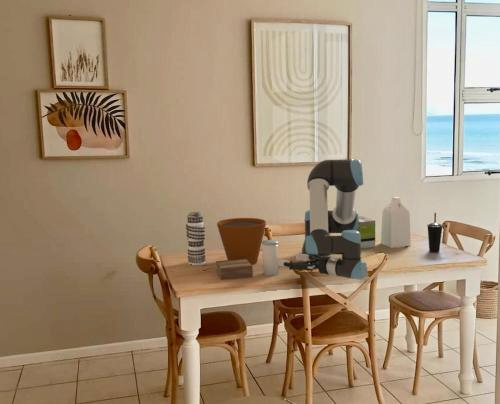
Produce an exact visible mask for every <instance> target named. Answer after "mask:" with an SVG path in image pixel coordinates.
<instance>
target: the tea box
mask: <svg viewBox="0 0 500 404" xmlns="http://www.w3.org/2000/svg"><path fill="white" fill-rule="evenodd" d="M358 216H359V215H358ZM357 231H358V232H359V233H360V237H361V249H368V248H370V249H371V248H376V220H374V219H371V218H369V217H366V216H359V221H358V228H357Z"/></svg>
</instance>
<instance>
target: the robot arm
mask: <svg viewBox="0 0 500 404" xmlns="http://www.w3.org/2000/svg"><path fill="white" fill-rule="evenodd" d="M306 181H307V182H306V183H307V185H306V187H307V190H308V191H309V209H308V210H306V211H305V212H304V241H303V244H302V248H301V252H300V253H298V252H296V253H295V259H296V260H297V261H292V260H287V259H279V258H278V267H283V268H288V269H289V271H290V270H291V271H292V270H295V271H296V270H297V271H313V270H318V272H319V273H320V274H322V275H327V276H328V275H330V276H335V278H337V277H342V278H346V279H351V280H363V279H365V278H366V276H367V273H368V266H367V265H368V264H367V262H366V261H363V260H362V256H361V253H362V252H361V249H362V248H361V237H360V233H359V232H358V231H357V228H358V221H359V212H358V210H356V209H354V207H355V200H356V199H355V197H356V191H357V190H358V188H359V187H360V186H363V185H364V175H363V164H362V160H360V159H354V158H349V159H347V158H346V159H325V160H322V161H320V162H318V163H317V164H316V165H315V166H314V167H313V168H312V169H311V171H310V172H309V174H308V176H307V180H306ZM330 186H331V187H334V188H336V199H335V200H336V201H335V207H334V208H333V210H329V209H328V207H329V206H328V190H329V189H330ZM329 234H340V235H329ZM330 255H341V257H337V256H330ZM309 263H310V264H309Z"/></svg>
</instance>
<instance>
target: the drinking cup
mask: <svg viewBox="0 0 500 404" xmlns="http://www.w3.org/2000/svg"><path fill="white" fill-rule="evenodd" d="M436 217H437V213H436V212H434V220H433V221H434V222H431V223H429V224H427V225H426V226H427V236H428V251H429V253H434V254H435V253H440V247H441V242H442V241H441V238H442V233H443V227H444V225H443V224H441V223H438V222H437V218H436Z"/></svg>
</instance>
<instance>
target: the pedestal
mask: <svg viewBox="0 0 500 404" xmlns="http://www.w3.org/2000/svg"><path fill="white" fill-rule="evenodd" d="M215 266H216V273H217V274H218V277H219V279H221V280H234V279H244V278H245V279H246V278H247V279H248V278H253V265H251V264H250V263H249V262H248V260H247V259H237V260H227V259H226V260H216V264H215Z"/></svg>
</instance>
